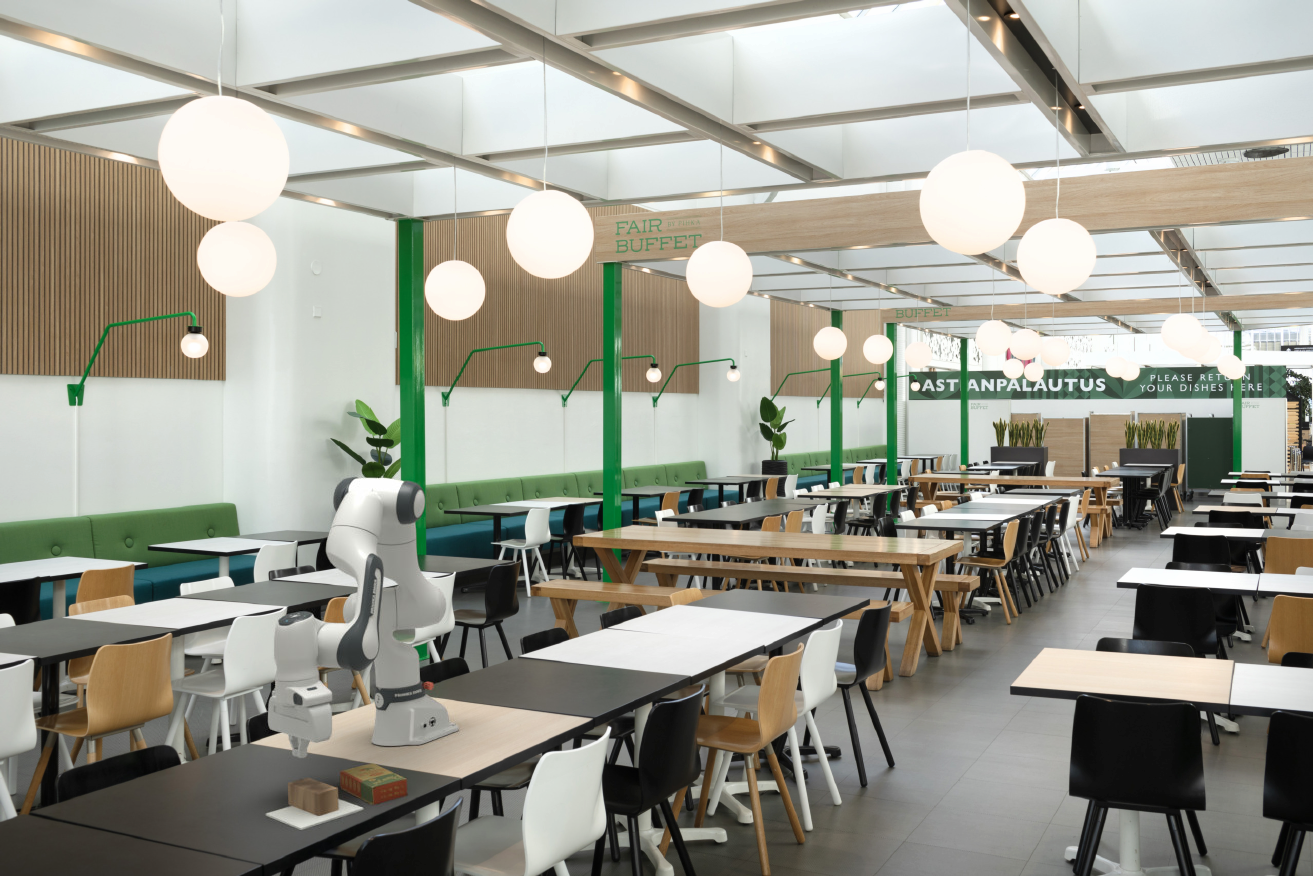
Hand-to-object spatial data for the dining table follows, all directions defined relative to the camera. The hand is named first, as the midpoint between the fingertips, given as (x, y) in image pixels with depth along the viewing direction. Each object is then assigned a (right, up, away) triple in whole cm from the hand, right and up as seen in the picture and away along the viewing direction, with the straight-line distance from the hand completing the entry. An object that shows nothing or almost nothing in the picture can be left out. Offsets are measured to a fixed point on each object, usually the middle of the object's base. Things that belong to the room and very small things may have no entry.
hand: (299, 756), depth 219 cm
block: (-1, -8, +1) cm, 8 cm away
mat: (+5, -10, -5) cm, 12 cm away
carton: (+14, -10, +7) cm, 18 cm away
